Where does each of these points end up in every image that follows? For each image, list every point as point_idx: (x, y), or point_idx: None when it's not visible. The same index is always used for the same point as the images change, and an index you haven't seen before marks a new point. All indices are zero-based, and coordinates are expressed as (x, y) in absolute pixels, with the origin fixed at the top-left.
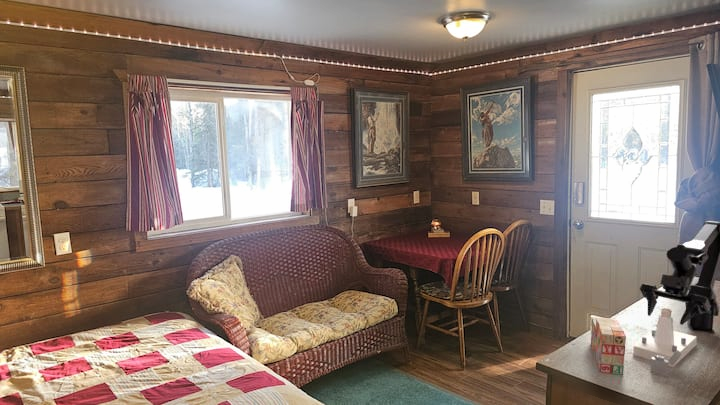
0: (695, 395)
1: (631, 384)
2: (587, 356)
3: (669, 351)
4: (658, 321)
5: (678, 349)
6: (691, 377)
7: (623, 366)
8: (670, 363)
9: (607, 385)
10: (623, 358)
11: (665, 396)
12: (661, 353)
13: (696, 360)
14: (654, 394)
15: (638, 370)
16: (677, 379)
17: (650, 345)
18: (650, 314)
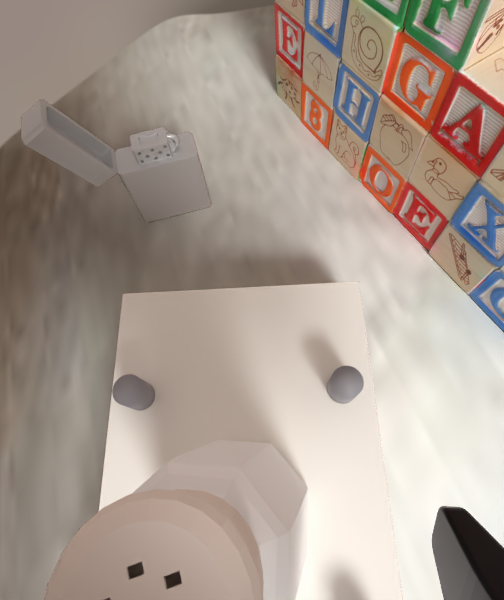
0: None
1: (224, 60)
2: None
3: (165, 369)
4: (285, 505)
5: (125, 457)
6: (55, 272)
7: (276, 56)
8: (104, 154)
9: None
10: (276, 12)
11: (111, 70)
12: (192, 296)
13: (54, 528)
14: (143, 58)
15: (251, 168)
16: (102, 209)
17: (289, 373)
18: (442, 573)
